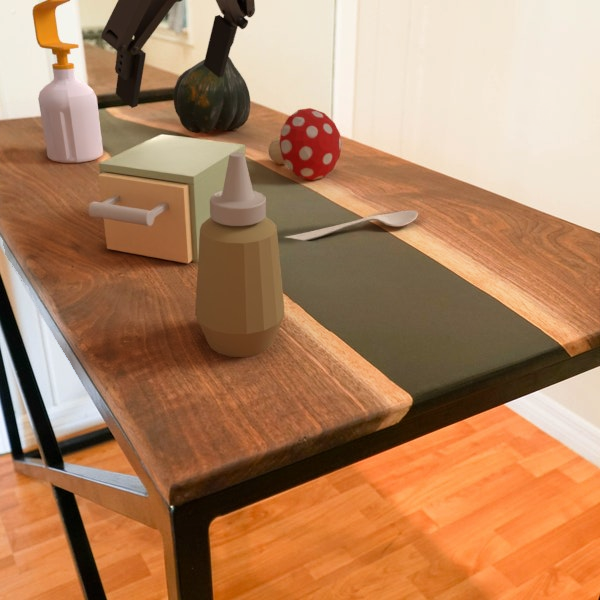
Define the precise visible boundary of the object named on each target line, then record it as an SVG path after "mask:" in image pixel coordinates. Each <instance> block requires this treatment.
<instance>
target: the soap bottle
mask: <svg viewBox="0 0 600 600" xmlns="http://www.w3.org/2000/svg"><path fill="white" fill-rule="evenodd" d="M70 1H71V0H44V1H41V2H40V3H37V4H35V5H34V6H33V7H32V19H33V25H34V32H35V39H36V42H37V44H38V46H39V47H40V48H42V49H46V50H47V49H48V50H51V53H52V55H55V57H56V62H55V63H53V64H51V66H52V67H51V68H52V73H53V79H52V81H50V82H49V83H47V84H46V85H45V86H44V87H43V88H42V89H41V90H40V91H39V93H38V97H37V100H38V106H39V111H40V112H39V113H40V118H41V123H42V131H43V136H44V137H43V138H44V143H45V149H46V156H47V158H48V159H49V160H51V161H52V162H57V163H60V164H81V163H89V162H92V161H95V160H97V159H99V158H101V157H102V156H103V155H104V147H103V139H102V129H101V122H100V114H99V106H98V97H97V95H96V92H95V91H94V89H92V87H91V86H89V85H88V84H86V83H84V82H82V81H81V80H79V79H77V77H76V70H75V64H74V63H73V62H69V57H68V55H71V50H72V49H79V44H75V43H68V42H62V40H61V39H60V37H59V31H58V25H57V17H56V9H57V8H58V7H59V6H62V5H63V4H64V5H65V4H67V3H69V2H70Z"/></svg>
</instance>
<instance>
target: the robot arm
mask: <svg viewBox="0 0 600 600" xmlns="http://www.w3.org/2000/svg"><path fill="white" fill-rule="evenodd" d="M182 1H183V0H117V2H116V4H115V5H114V8H113V9H112V12H111V14H110V16H109V18H108V20H107V22H106V24H105V26H104V28H103V29H102V32H101V39H102V40H103V41H104V42H106V44H108V45H109V46H110V47H111V48H113V49H114V50H115V51H116V57H115V60H116V61H115V64H114V65H115V66H114V71H115V73H116V74H117V79H116V86H115V87H116V88H115V95H116V96H118V97H119V98H120V99H121V100H122V101H123V102H124V103H126V104H127V106H129V107H130V108H131V109H134V108H136V107H138V105H139V100H140V99H139V98H140V93H141V92H140V91H141V86H142V82H143V81H142V79H143V74H144V69H145V68H144V67H145V61H146V55H147V53H146V52H145V51H144V50H143V49H142V48H143V47H144V46H145V45H146V43H147V42H148V41H149V39H150V38H151V37H152V35H153V34H154V33H155V31H156V30H157V29H158V27H159V26H160V24H162V21H164V19H165V18H166V16H167V15H168V13H169V12H170V10H172V9H173V7H174V5H175V4H176V3H180V2H182ZM215 2H216V4H217V6H218V8H219V11H220V13H221V15H220V14H218V15H217V14H216V15H215V16H214V18H213V22H212V23H213V24H212V26H211V27H212V28H211V31H210V35H209V40H208V44H207V49H206V53H205V57H204V60H205V61H204V66H205V67H207V68H208V69H209V70H210V71H211V72H213V73H214V74H215V75H216V76H218V77H222V76H223V75H224V71H225V67H226V64H227V60H228V57H229V56H230V51H231V48H232V46H233V44H234V42H235V38H236V34H237V32H238V31H237V30H238V28H239V29H241V30H244V29H245V28H247V26H248V24H249V20H248V19H247V18H252V17H253V16H254V15H255V12H256V4H255V0H215ZM222 15H223V16H222ZM245 17H247V18H245Z"/></svg>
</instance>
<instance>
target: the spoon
mask: <svg viewBox="0 0 600 600" xmlns="http://www.w3.org/2000/svg"><path fill="white" fill-rule="evenodd" d="M418 216H419V213H418V211H417V210H412V209H410V210H409V209H408V210H407V209H405V210H400V211H395V212H389V213H386V214H385V213H384V214H378V215H369V216H366V217H363V218H359V219H357V220H353V221H349V222H345V223H344V222H343V223H340V224H337V225H336V224H335V225H332V226H328V227H324V228H320V229H315V230H311V231H306V232H302V233H298V234H297V233H296V234H292V235H287V236H286V235H285V238H289V239H294V240H299V241H305V242H306V241H310V240H314V239H317V238H321V237H324V236H326V235H330V234H333V233H335V232H337V231H340V230H342V229H346V228H349V227H352V226H355V225H360V224H363V223H365V222H369V221H377V222H379V223H382V224H383V225H386V226H388V227H399V228H400V227H404V226H407V225H408V224H410V223H412V222H413V221H415V220H416V219H417V218H418Z"/></svg>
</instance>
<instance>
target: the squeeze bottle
mask: <svg viewBox="0 0 600 600" xmlns="http://www.w3.org/2000/svg"><path fill="white" fill-rule="evenodd" d="M245 158H246V154H245V155H244V154H243V153H239V152H235V153H231V154H230V156H229V161H228V166H227V172H226V177H225V182H224V188H223V191H220V192H217V193H215V194H214V195H212V196H211V198H210V218H209V219H208V220H206V221H205V222H204V223H203V224H202V225H201V228H200V236H199V255H198V262H197V273H196V274H197V276H196V293H195V310H194V316H195V317H196V320H197V322H198V324H199V327H200V329H201V331H202V333H203V335H204V338H205V340H206V342H207V344H208V345H209V347H210V349H211V350H213V351H214V352H217V353H218V354H220V355H222V356H227V357H231V358H233V357H234V358H248V357H252V356H257V355H260V354H262V353H264V352H266V351H268V350H269V349H270V348H271V346H273V344H274V343H275V341H276V339H277V336H278V333H279V330H280V328H281V325H282V323H283V320H284V318H285V302H284V301H285V299H284V290H283V279H282V270H281V269H282V268H281V259H280V249H279V238H278V228H277V224H275V223H274V222H273V221H272V220H271V219H270V218H269V217H267V198H266V196H265V195H264V194H263V193H261V192H259V191H256V190H253V185H252V181H251V178H250V172H249V169H248V164H247V159H245Z"/></svg>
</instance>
